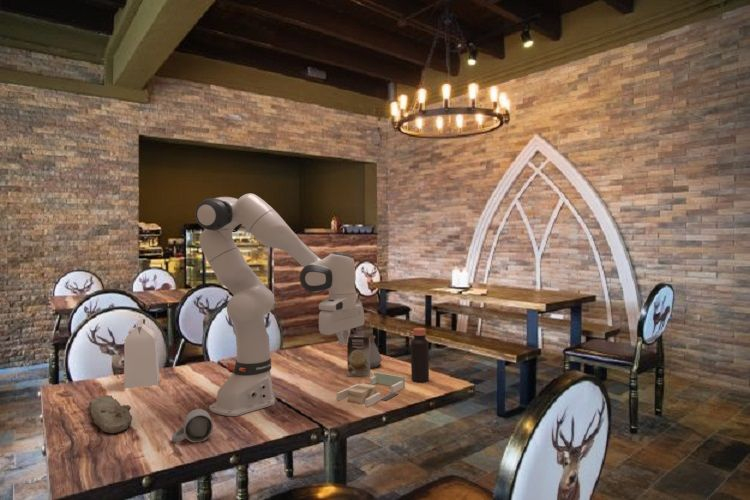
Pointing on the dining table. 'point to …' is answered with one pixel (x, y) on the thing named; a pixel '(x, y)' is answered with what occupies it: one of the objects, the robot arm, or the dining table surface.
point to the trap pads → (388, 396)
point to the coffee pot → (372, 352)
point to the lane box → (380, 378)
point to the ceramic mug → (195, 427)
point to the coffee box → (358, 355)
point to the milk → (140, 357)
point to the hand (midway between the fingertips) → (343, 343)
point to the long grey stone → (110, 414)
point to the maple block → (361, 393)
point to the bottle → (419, 356)
